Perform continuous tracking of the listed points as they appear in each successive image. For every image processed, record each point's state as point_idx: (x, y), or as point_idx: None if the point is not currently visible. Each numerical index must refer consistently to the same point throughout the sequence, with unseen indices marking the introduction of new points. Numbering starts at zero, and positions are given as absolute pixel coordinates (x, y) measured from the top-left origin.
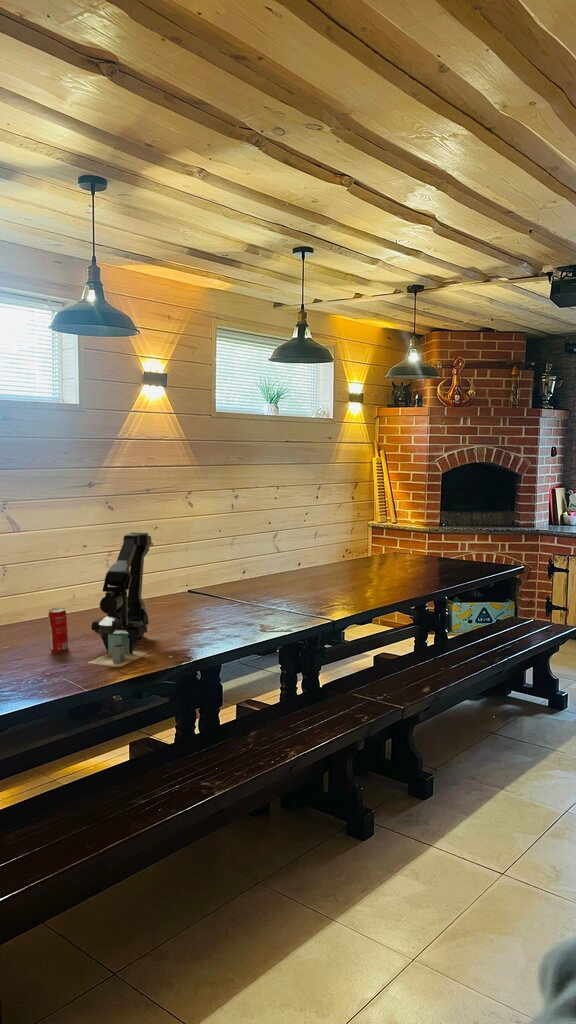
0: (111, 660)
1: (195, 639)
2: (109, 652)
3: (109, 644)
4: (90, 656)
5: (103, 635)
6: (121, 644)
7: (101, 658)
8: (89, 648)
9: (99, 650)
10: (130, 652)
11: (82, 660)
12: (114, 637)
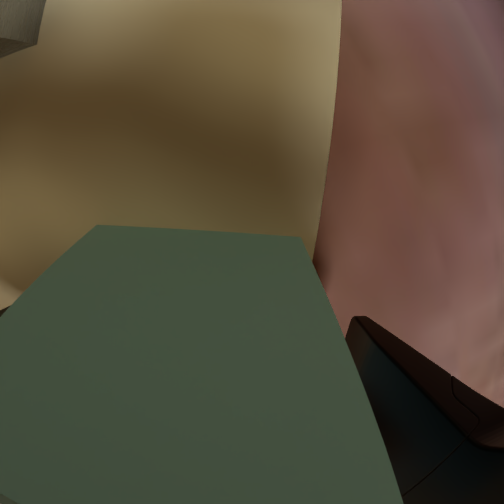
0: (103, 9)
1: None
2: (284, 242)
3: (302, 315)
4: (466, 181)
5: (495, 446)
6: (14, 311)
7: (279, 20)
8: (492, 345)
9: (435, 345)
10: None
11: (473, 51)
12: (112, 470)
